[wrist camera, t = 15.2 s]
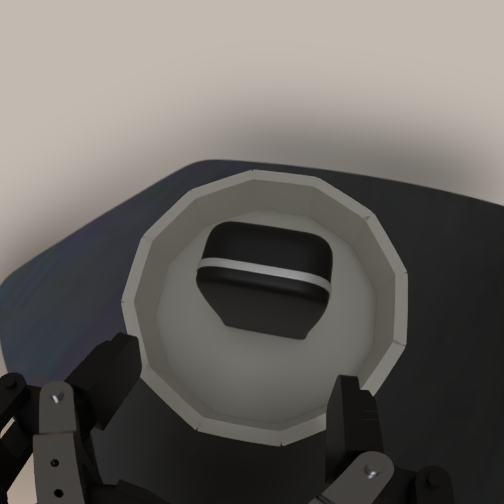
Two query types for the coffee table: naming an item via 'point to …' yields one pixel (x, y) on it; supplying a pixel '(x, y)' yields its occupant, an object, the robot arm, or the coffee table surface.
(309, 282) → the battery charger
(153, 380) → the bowl
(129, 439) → the coffee table surface
